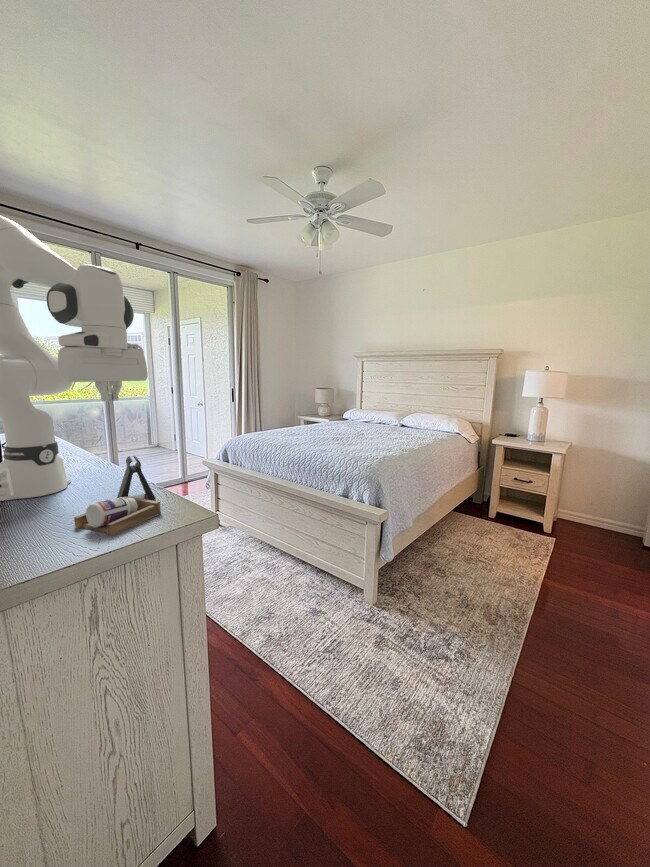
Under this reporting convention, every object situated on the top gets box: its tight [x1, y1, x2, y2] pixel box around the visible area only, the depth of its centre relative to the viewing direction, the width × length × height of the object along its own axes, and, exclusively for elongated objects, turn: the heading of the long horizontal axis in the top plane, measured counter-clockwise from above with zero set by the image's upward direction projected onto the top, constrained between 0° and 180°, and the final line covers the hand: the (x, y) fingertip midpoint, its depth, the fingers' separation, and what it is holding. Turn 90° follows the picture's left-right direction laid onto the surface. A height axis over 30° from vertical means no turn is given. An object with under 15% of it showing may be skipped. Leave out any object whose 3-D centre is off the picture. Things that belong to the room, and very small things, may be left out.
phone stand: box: [116, 455, 157, 501], centre depth 98 cm, size 9×6×12 cm, turn 124°
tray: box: [73, 495, 162, 537], centre depth 85 cm, size 11×14×3 cm
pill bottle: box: [85, 497, 138, 527], centre depth 83 cm, size 5×5×10 cm
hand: (110, 401), depth 84 cm, fingers closed
